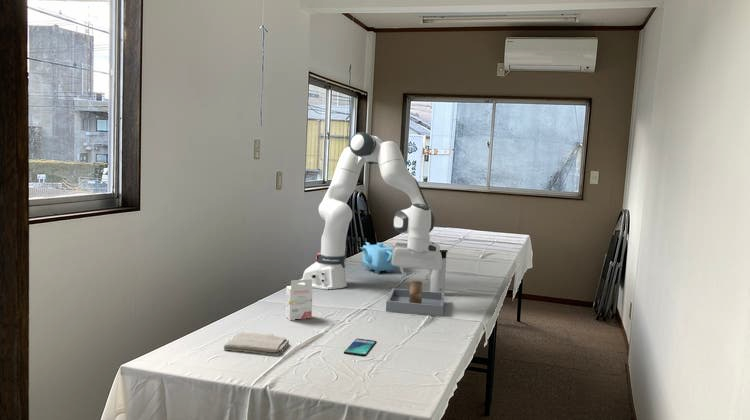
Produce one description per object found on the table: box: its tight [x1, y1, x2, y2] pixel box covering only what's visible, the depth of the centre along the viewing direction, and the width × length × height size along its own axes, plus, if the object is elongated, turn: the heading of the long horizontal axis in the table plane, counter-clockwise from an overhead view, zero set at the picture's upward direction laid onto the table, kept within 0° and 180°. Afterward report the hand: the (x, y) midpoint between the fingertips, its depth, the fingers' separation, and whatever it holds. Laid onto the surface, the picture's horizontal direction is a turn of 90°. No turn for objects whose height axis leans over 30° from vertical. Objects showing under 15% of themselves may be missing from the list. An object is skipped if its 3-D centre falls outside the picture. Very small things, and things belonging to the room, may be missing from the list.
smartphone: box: [343, 338, 377, 357], centre depth 188 cm, size 7×1×15 cm
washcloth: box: [223, 331, 290, 356], centre depth 183 cm, size 12×18×3 cm, turn 83°
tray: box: [385, 287, 445, 317], centre depth 240 cm, size 22×22×4 cm
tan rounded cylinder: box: [409, 280, 423, 304], centre depth 240 cm, size 5×5×9 cm
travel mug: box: [429, 249, 448, 294], centre depth 262 cm, size 6×7×20 cm
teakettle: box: [359, 241, 397, 274], centre depth 305 cm, size 19×19×15 cm
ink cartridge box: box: [285, 279, 313, 321], centre depth 215 cm, size 9×5×15 cm, turn 117°
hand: (415, 278), depth 238 cm, fingers open, 8 cm apart
